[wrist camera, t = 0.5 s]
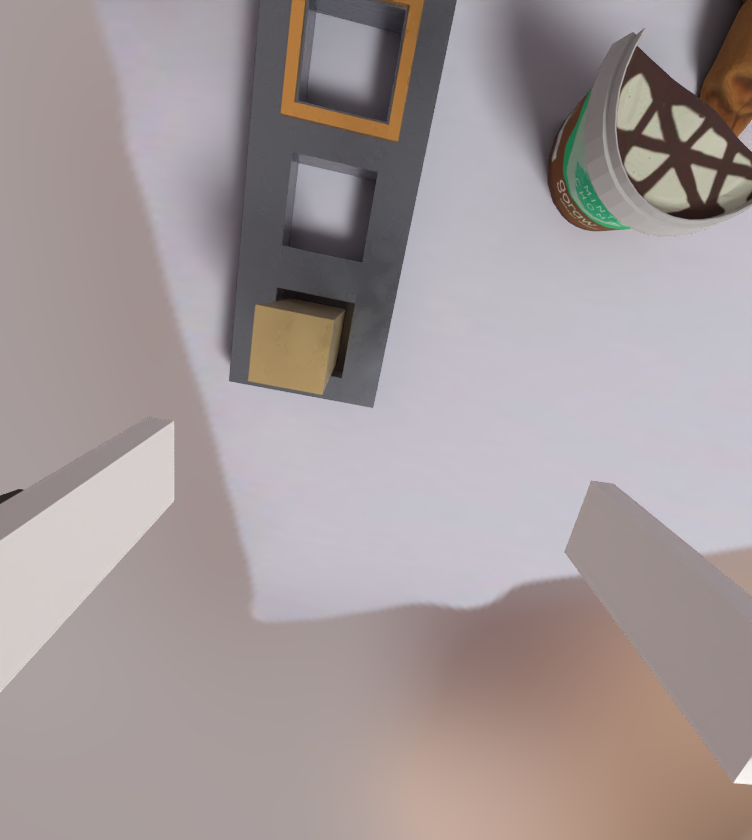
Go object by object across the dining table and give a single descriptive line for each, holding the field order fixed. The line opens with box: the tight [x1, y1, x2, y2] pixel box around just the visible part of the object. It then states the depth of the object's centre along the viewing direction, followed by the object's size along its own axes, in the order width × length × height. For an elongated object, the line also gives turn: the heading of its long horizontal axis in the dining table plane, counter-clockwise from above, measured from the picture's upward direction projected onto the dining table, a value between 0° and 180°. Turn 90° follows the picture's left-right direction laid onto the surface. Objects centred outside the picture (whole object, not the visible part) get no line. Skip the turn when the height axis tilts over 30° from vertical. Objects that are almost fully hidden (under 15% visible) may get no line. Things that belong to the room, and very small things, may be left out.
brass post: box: [248, 299, 346, 395], centre depth 28 cm, size 4×4×11 cm
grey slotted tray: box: [229, 0, 457, 408], centre depth 29 cm, size 28×12×3 cm, turn 169°
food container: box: [548, 28, 752, 237], centre depth 26 cm, size 12×6×10 cm, turn 58°
